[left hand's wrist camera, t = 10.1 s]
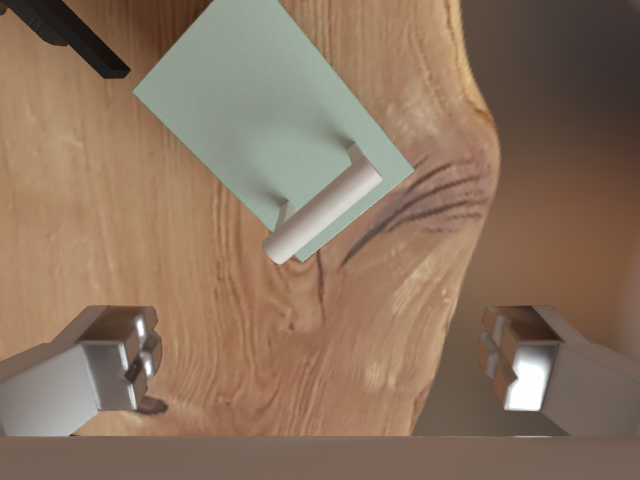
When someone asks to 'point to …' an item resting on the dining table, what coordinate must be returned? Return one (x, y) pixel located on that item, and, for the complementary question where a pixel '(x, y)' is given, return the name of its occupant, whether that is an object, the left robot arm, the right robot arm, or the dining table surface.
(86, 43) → the right robot arm
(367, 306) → the dining table surface
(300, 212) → the lid
